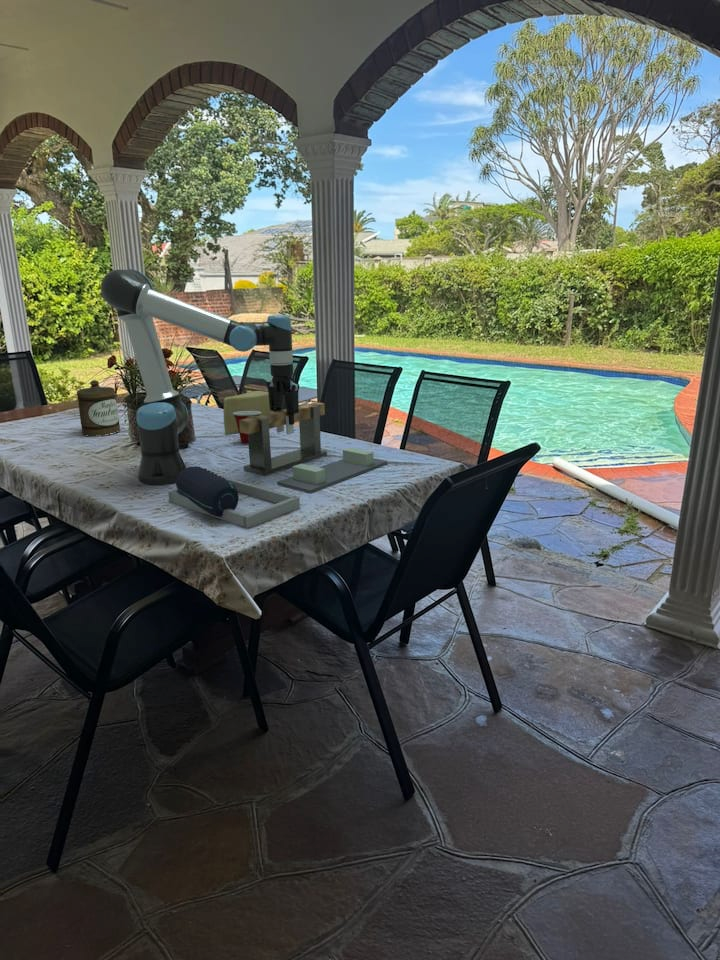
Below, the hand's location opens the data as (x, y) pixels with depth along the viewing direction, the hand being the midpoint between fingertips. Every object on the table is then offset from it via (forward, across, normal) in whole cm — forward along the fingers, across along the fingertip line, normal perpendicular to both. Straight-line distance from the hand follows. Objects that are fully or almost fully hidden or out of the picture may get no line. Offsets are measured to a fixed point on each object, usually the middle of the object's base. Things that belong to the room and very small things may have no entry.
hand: (285, 432), depth 218 cm
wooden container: (+11, +96, +14) cm, 98 cm away
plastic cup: (+11, +33, -12) cm, 37 cm away
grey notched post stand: (+11, 0, 0) cm, 11 cm away
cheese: (+11, +50, -26) cm, 57 cm away
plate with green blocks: (+11, -22, 0) cm, 24 cm away
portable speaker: (+11, -14, +45) cm, 48 cm away
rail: (-3, 0, 0) cm, 3 cm away
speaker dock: (+11, -18, +39) cm, 44 cm away
